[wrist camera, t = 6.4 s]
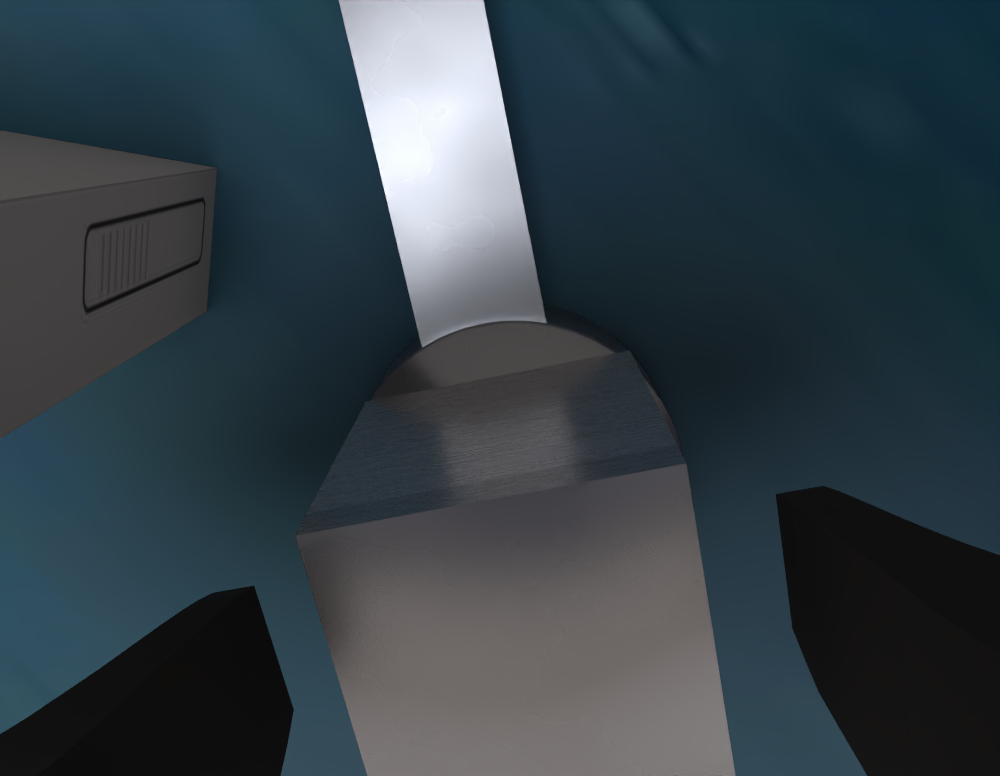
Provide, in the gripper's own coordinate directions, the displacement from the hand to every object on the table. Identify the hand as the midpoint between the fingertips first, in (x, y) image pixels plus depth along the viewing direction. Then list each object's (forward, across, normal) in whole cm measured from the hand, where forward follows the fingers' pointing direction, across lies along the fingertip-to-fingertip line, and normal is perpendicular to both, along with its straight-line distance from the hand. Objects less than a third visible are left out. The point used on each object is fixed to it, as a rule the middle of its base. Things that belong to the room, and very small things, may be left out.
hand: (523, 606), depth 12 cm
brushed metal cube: (+4, 0, 0) cm, 4 cm away
